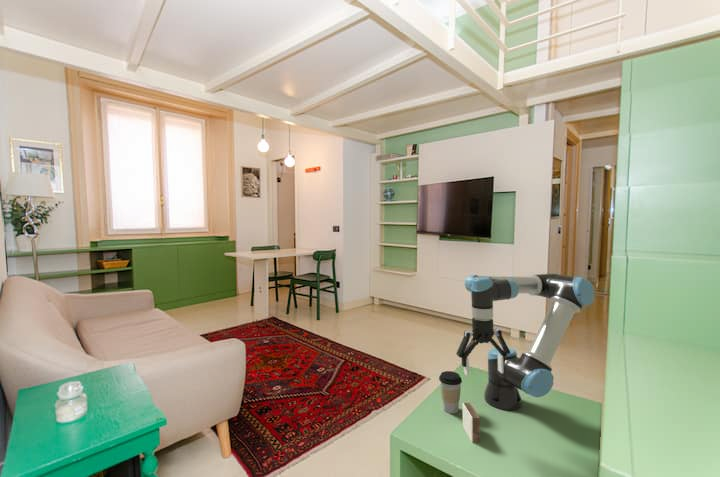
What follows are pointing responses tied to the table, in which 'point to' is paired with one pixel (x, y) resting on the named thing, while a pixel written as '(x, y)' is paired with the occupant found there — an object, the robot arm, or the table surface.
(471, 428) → the wooden block
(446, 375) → the coffee cup
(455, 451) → the table surface
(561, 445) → the table surface
